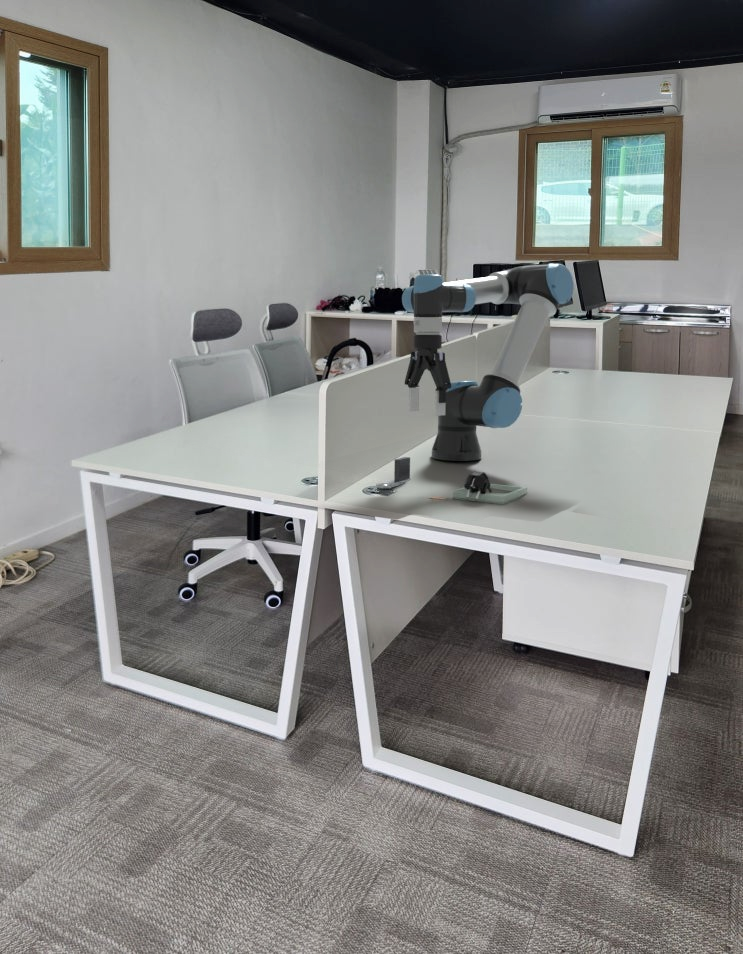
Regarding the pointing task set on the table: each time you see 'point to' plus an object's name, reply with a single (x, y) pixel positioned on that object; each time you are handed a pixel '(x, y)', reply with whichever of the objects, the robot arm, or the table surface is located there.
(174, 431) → the table surface
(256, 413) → the table surface
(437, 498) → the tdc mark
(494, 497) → the tray
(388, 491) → the hub
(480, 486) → the power plug
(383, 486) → the crank
